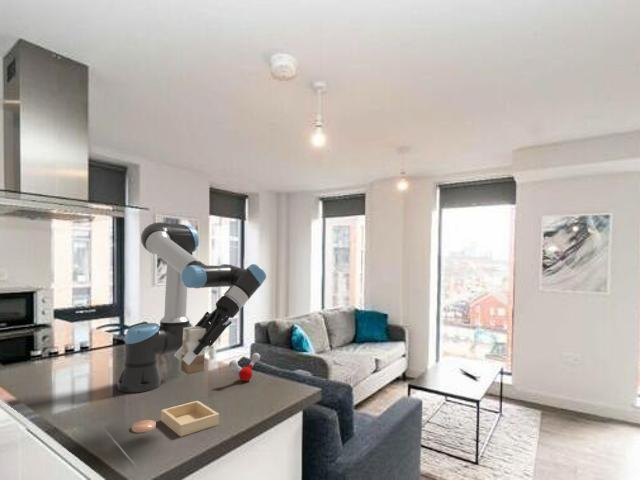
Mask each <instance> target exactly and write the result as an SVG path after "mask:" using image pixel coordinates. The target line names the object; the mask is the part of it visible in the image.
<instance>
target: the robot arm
mask: <svg viewBox="0 0 640 480" xmlns="http://www.w3.org/2000/svg"><path fill="white" fill-rule="evenodd" d="M140 235H141V236H140V242H141V244H142V246H143V248H144V249H145V250H147V252H149V253H150V254H153V255H157V257H159V258H160V259H161V260H163V261H164V262H165V263H166V271H165V272H166V273H165V293H164V295H165V297H164V315H163V317H162V318H161V319H160V321H159V323H156V322H148V323H141V324H137V325H134V326H132V327H129V328H128V330H127V331H126V334H125V340H124V360H123V361H124V363H123V364H124V365H123V369H122V371H121V373H120V376H119V378H118V382H117V390H118V391H120V392H123V393H143V392H147V391H148V392H149V391H151V390H155V389H156V388H158V387H160V386H161V383H162V378H161V374H160V371H159V368H158V357H159V356H164V355H169V354H173V356H174V357H175V358H177V359H178V361H180V362H181V360H183V361H184V362H186V363H187V364H188V365H190V363H191V362H192V361H193V360H194V359H195V358H196V356H197V355H198V354H199V353H200V352H201V351H202V349H203V348H204V347H205V348H207V347H209V348H210V347H212V345H214V343H215V342H216V341H217V339H219V337H220V336H221V335H222V334H223V333H224V331H225V330H226V329H227V328H228V327H229V326H230V325H231V324H232V323H233V322H232V321H231V319H233V318H235V316H237V314H238V313H239V312H240V309H242V308H243V307H244V306H245V305H246V303H247V302H248V301H249V299H250V298H251V297H252V296H253V295H254V294H255V293H256V291H257V290H258V289H259V288H260V287H261V286H262V285H263V283H264V282H265V280H266V279H267V274H266V272H265V270H264V269H263V268H262V267H261V266H260V265H258V264H255V263H252V264H250V265H249V266H247V268H241V267H239V266H235V265H232V264H227V263H221V265H207V264H205V263H203V262H201V261H200V260H199V259H197V258H196V257H195V256H193V253H194V252H196V251H197V249H198V247H199V243H200V239H199V235H198V231H197V230H196V229H195V227H193V226H190V225H186V224H181V223H180V224H179V223H170V222H162V221H161V222H160V221H159V222H153V223H151V224H149V225H147V226H146V227H145V228H144V229H143V230H142V232H141V234H140ZM223 287H224V288H225V287H229V288H228V289H227V290H226V291H225V292H224V293H223V295H222V296H221V297H220V298H219V299H218V300H217V301H216V303H215V306H216V307H215V309H213V311H212V312H209V311H206V312H205V313H204V314H203V316H202V317H201V318H200V320H199V321H198V322H196V323H195V325H193V324H192V323H191V322H190V321H191V319H189V318H188V316H187V304H188V303H187V302H188V301H187V299H188V289H189V288H190V289H204V288H205V289H206V288H223ZM196 326H199V327H202V328H205V329H206V333H205V334H204V336H203V337H202V339H199V340H198V341H199V342H200V343H199V342H197V343H196V344H195V345H194V346H193V347H192V348H191V350H190V351H189V352H188V353H187V354H186V355H185V356H184V358H183V359H182V342H183V328H187V327H196Z"/></svg>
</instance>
